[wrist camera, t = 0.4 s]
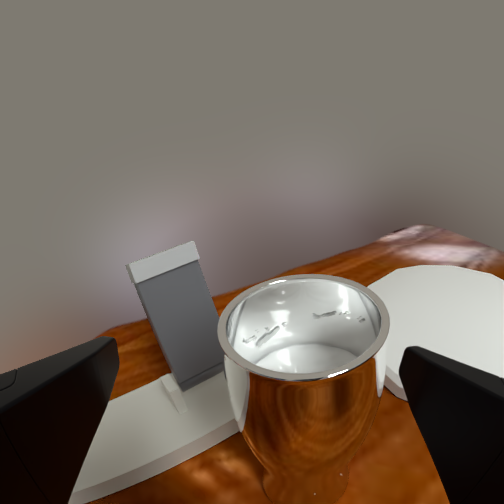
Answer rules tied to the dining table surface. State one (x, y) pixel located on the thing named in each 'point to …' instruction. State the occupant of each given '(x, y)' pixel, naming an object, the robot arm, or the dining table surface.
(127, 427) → the switch console
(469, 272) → the white flat disc
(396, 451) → the dining table surface
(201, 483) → the dining table surface
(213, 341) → the grey lever
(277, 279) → the beer glass
